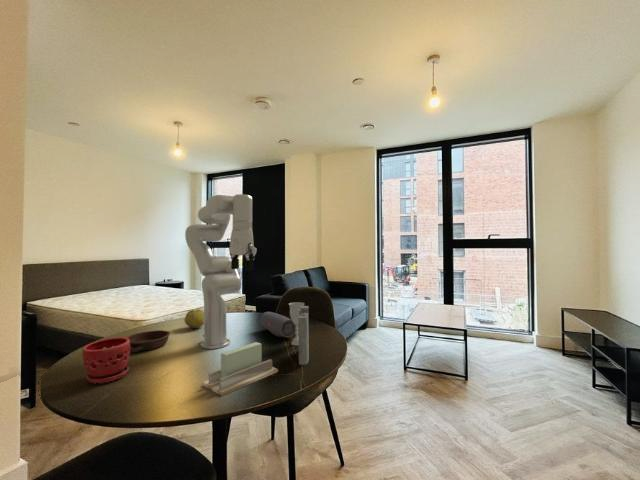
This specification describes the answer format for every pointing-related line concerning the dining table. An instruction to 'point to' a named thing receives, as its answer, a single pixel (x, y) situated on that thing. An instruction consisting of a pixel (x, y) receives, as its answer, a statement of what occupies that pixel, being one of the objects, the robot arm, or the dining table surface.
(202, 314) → the fruit
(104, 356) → the plant pot
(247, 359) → the door panel
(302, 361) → the hip flask
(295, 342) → the chalice
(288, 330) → the bluetooth speaker
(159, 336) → the dish
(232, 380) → the track
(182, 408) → the dining table surface
